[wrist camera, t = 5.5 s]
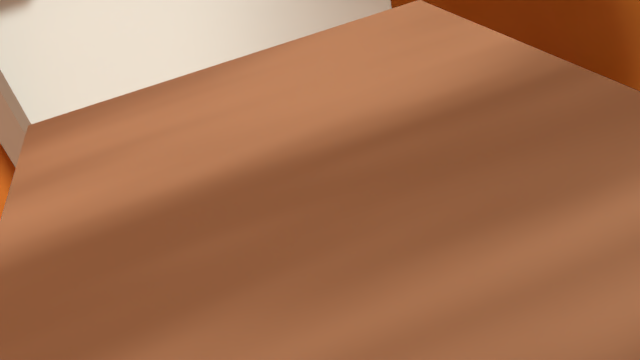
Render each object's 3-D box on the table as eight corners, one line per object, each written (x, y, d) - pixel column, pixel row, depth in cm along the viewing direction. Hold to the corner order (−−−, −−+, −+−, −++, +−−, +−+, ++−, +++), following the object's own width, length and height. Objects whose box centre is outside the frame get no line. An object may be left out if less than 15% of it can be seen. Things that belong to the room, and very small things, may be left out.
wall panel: (349, -217, 23) (368, -224, 21) (418, 189, 34) (435, 206, 32) (-118, -88, 20) (-139, -84, 19) (116, 309, 31) (117, 334, 29)
